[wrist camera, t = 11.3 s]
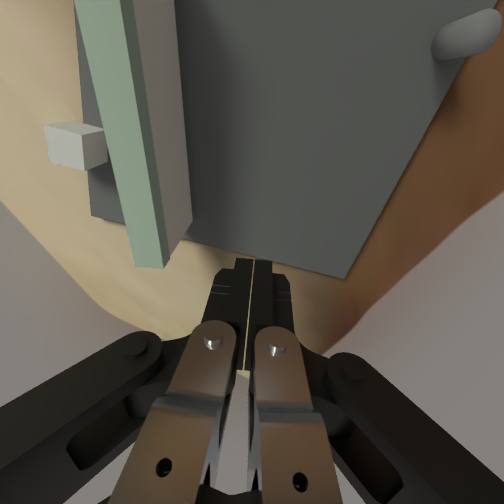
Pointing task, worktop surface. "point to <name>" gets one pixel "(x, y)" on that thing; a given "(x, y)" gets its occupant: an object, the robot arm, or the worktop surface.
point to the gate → (141, 118)
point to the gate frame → (294, 117)
